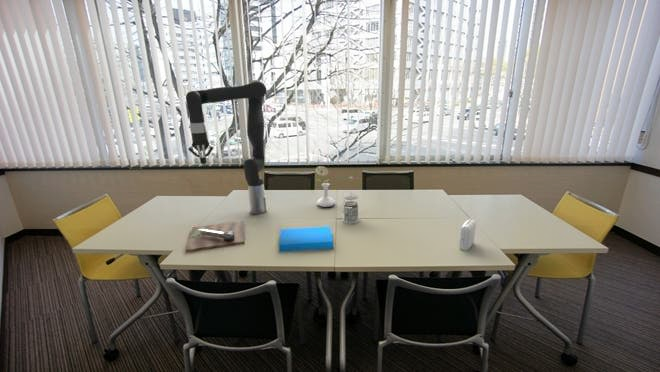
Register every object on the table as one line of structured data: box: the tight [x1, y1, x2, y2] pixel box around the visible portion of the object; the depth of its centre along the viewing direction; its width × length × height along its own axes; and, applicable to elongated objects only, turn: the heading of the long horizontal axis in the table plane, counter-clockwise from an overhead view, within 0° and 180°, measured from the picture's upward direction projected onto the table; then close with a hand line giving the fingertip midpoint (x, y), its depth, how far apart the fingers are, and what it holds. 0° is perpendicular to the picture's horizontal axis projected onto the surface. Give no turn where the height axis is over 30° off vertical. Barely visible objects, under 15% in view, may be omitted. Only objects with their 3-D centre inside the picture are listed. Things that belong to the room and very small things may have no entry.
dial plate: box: [185, 220, 246, 254], centre depth 155 cm, size 26×25×2 cm
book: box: [278, 225, 335, 253], centre depth 148 cm, size 17×4×25 cm
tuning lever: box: [198, 229, 235, 242], centre depth 151 cm, size 20×5×3 cm, turn 71°
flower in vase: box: [315, 165, 336, 208], centre depth 190 cm, size 13×11×25 cm
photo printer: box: [458, 219, 477, 251], centre depth 140 cm, size 10×4×12 cm, turn 140°
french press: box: [341, 176, 361, 224], centre depth 168 cm, size 10×12×25 cm
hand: (203, 164), depth 164 cm, fingers closed
